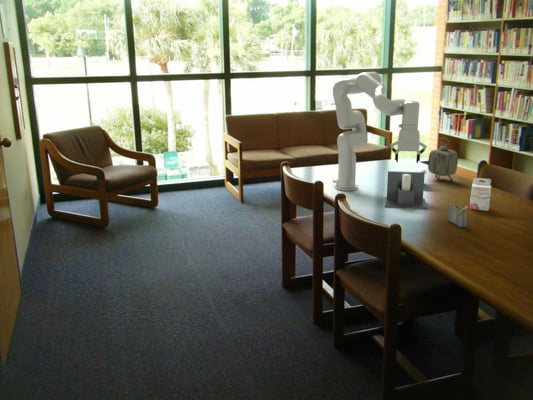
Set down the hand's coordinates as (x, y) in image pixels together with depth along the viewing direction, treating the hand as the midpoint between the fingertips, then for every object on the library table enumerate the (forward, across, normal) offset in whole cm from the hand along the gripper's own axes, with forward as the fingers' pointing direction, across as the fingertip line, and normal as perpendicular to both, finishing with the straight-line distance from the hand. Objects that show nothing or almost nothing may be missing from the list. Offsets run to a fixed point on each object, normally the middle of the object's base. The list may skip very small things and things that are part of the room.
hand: (407, 161), depth 263 cm
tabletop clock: (+22, +23, +52) cm, 61 cm away
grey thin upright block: (+22, +22, -26) cm, 40 cm away
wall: (+22, +6, +39) cm, 46 cm away
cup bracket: (+22, 0, +1) cm, 22 cm away
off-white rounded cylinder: (+19, 0, 0) cm, 19 cm away
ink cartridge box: (+22, +35, -2) cm, 41 cm away
